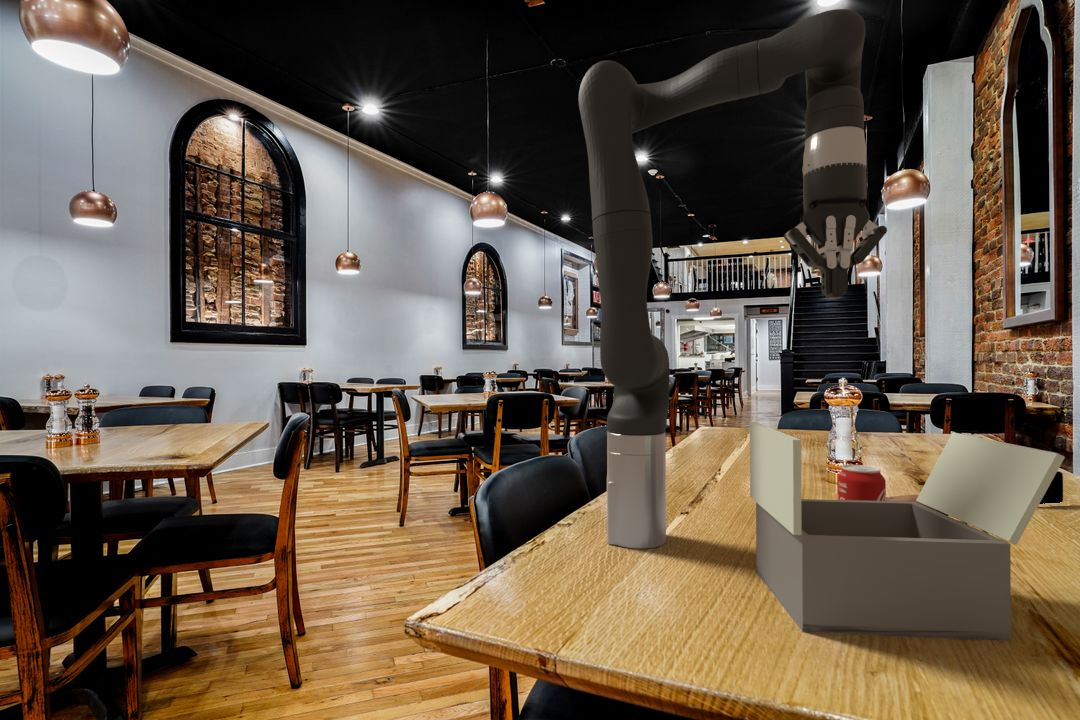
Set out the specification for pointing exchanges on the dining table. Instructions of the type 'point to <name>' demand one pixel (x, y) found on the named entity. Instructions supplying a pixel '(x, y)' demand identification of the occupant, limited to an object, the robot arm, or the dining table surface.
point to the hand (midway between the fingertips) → (834, 297)
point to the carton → (872, 558)
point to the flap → (990, 484)
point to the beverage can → (861, 483)
